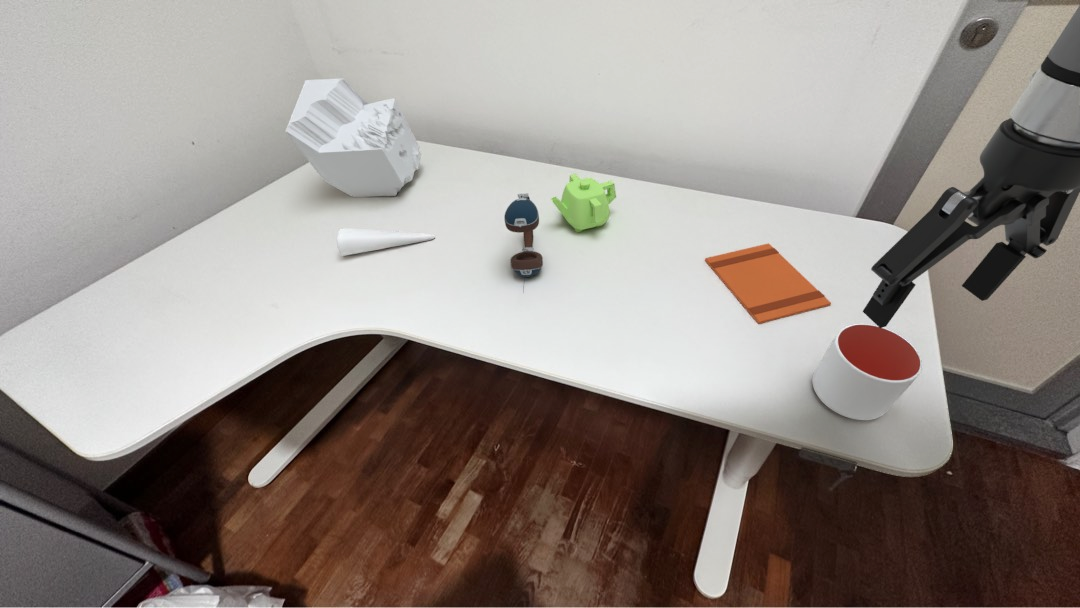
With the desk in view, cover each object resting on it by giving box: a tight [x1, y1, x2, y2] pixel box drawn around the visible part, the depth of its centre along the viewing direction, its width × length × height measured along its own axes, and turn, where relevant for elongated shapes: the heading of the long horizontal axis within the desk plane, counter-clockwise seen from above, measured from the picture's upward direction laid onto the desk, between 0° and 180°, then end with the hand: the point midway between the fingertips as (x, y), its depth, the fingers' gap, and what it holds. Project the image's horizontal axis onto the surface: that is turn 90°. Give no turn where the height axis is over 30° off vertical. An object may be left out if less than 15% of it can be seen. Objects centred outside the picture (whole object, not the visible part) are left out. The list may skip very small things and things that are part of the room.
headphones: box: [503, 192, 544, 294], centre depth 87 cm, size 6×15×22 cm
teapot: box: [550, 173, 617, 233], centre depth 99 cm, size 12×12×10 cm
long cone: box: [336, 227, 436, 257], centre depth 99 cm, size 6×6×19 cm
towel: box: [704, 242, 832, 325], centre depth 85 cm, size 18×14×1 cm
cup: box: [811, 323, 924, 421], centre depth 64 cm, size 10×10×10 cm
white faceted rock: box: [285, 77, 422, 198], centre depth 110 cm, size 20×16×25 cm
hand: (924, 305), depth 53 cm, fingers open, 13 cm apart
